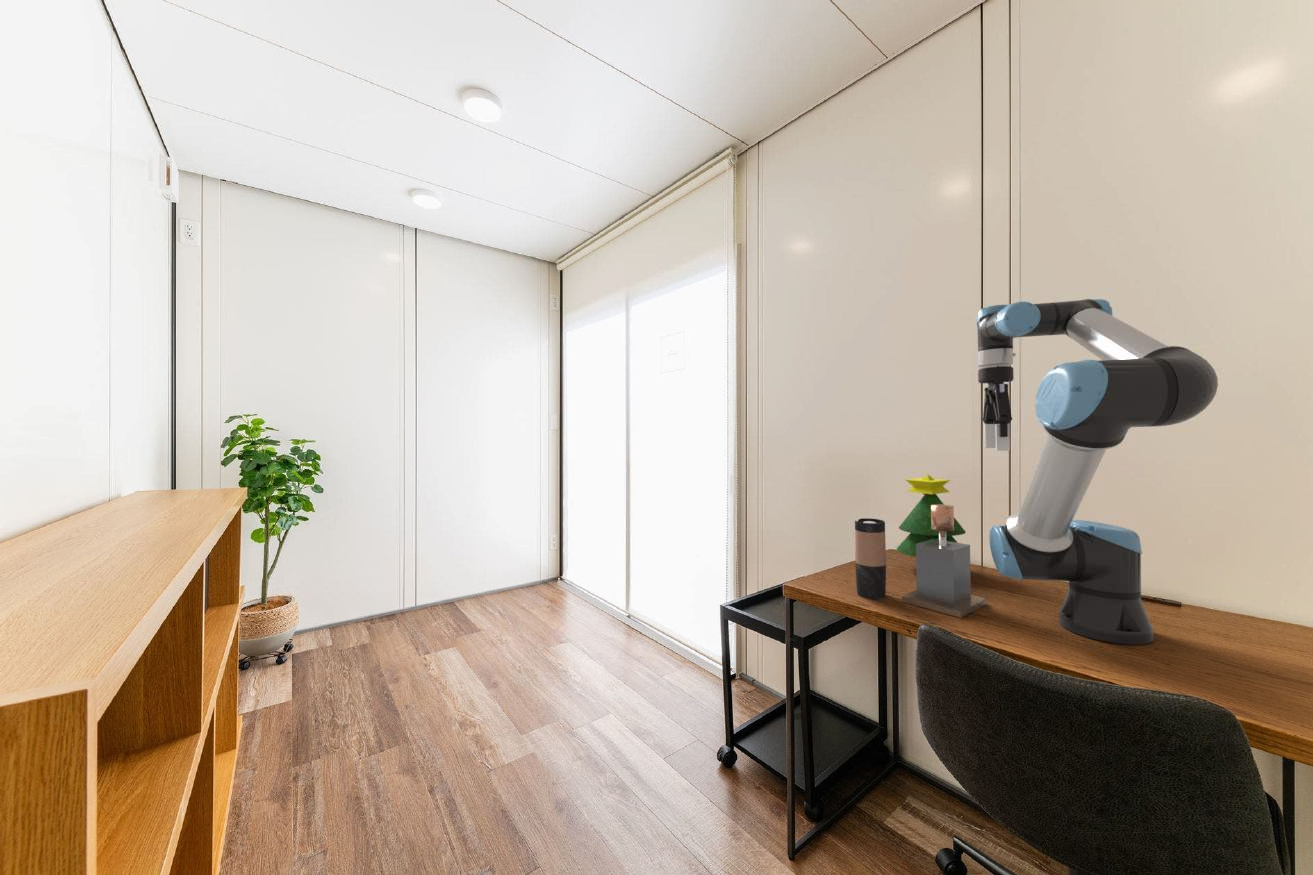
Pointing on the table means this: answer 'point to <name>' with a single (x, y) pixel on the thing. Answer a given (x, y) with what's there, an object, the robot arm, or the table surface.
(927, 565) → the press housing
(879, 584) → the travel mug
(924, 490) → the decorative tree
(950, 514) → the plunger
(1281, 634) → the table surface
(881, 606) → the table surface
